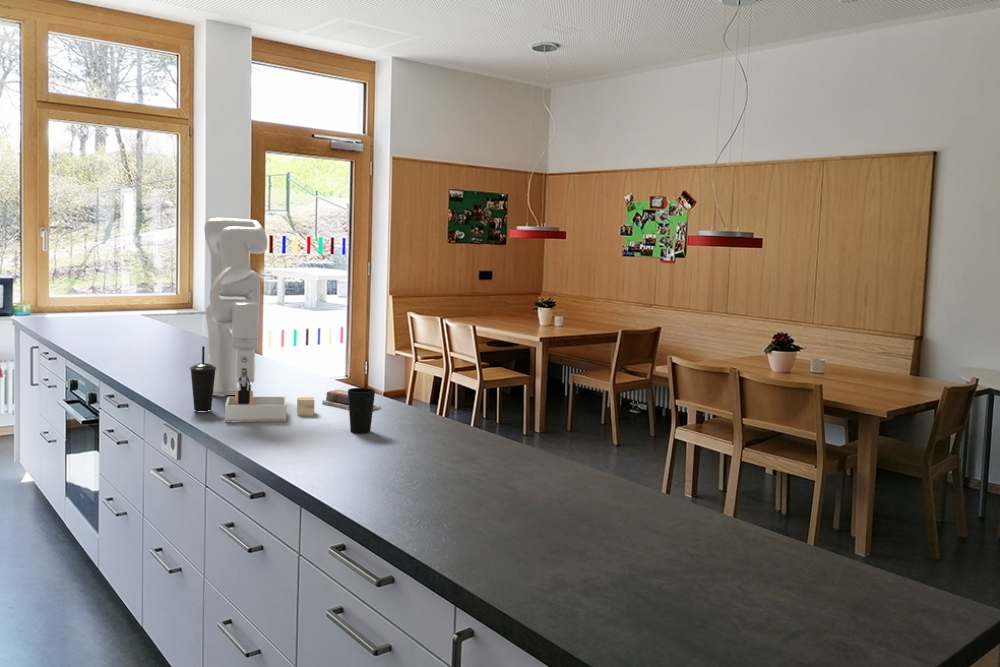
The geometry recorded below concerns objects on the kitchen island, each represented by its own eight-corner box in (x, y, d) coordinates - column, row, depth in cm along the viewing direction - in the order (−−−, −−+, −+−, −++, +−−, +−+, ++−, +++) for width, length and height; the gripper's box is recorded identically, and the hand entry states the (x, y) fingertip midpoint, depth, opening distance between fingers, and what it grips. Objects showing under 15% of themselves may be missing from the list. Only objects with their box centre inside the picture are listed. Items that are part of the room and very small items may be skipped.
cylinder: (252, 412, 247) (253, 389, 247) (252, 416, 243) (252, 393, 242) (235, 412, 246) (235, 390, 245) (234, 416, 241) (235, 393, 241)
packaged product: (321, 390, 269) (343, 387, 277) (320, 405, 269) (343, 401, 278) (359, 398, 258) (381, 395, 267) (359, 413, 259) (381, 409, 267)
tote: (227, 412, 249) (227, 396, 249) (285, 412, 254) (286, 396, 253) (224, 422, 237) (225, 405, 236) (286, 421, 241) (286, 405, 241)
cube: (297, 412, 255) (297, 396, 255) (313, 412, 256) (313, 396, 256) (297, 415, 250) (297, 399, 250) (314, 415, 252) (314, 399, 251)
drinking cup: (198, 414, 245) (199, 348, 243) (184, 410, 249) (184, 346, 247) (221, 411, 251) (221, 347, 249) (206, 407, 255) (207, 344, 253)
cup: (368, 435, 229) (369, 393, 227) (342, 433, 230) (343, 391, 229) (377, 429, 236) (378, 389, 235) (352, 427, 238) (353, 386, 236)
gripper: (257, 347, 235) (256, 406, 237) (259, 340, 251) (258, 395, 253) (230, 347, 233) (229, 406, 235) (233, 339, 249) (232, 395, 251)
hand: (244, 400), depth 244 cm, fingers open, 9 cm apart
